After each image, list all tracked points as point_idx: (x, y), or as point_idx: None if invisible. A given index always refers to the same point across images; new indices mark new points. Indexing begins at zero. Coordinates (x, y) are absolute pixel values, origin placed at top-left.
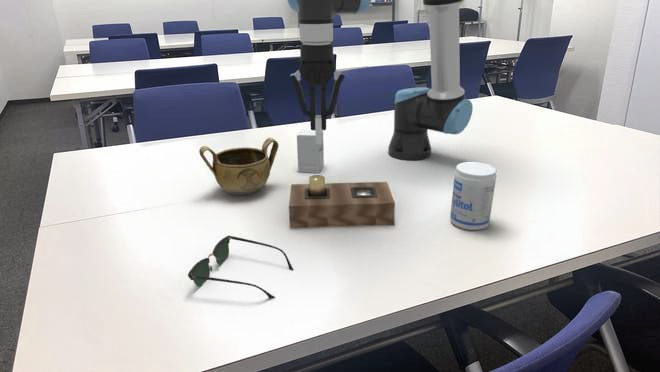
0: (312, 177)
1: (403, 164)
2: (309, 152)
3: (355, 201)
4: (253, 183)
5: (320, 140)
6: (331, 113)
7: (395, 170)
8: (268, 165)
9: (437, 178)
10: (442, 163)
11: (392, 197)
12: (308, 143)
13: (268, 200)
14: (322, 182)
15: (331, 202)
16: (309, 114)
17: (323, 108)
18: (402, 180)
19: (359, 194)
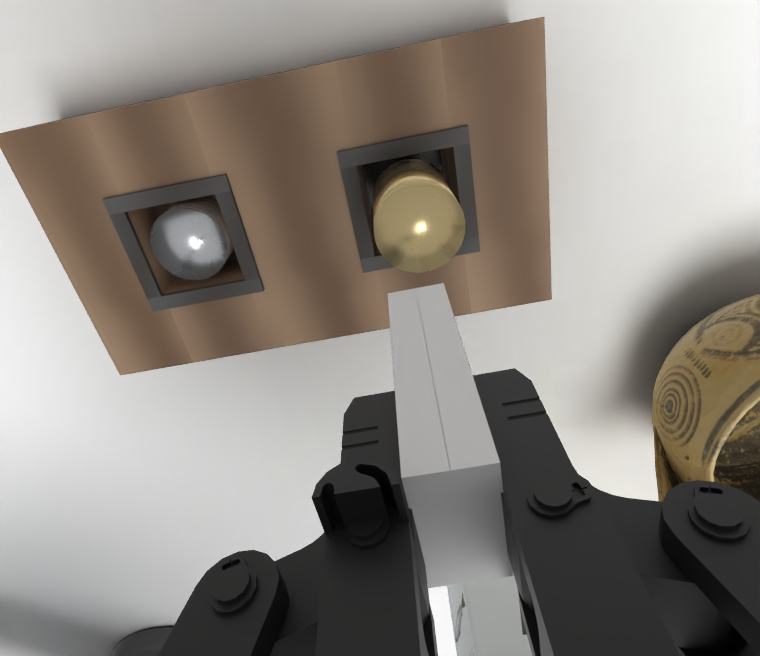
0: (445, 229)
1: (180, 600)
2: (503, 587)
3: (198, 129)
4: (724, 320)
5: (401, 308)
6: (232, 569)
7: (194, 560)
8: (681, 429)
9: (35, 522)
10: (57, 617)
11: (32, 204)
12: (515, 625)
13: (624, 286)
14: (381, 198)
15: (319, 99)
16: (613, 522)
17: (367, 646)
18: (149, 496)
19: (203, 222)
